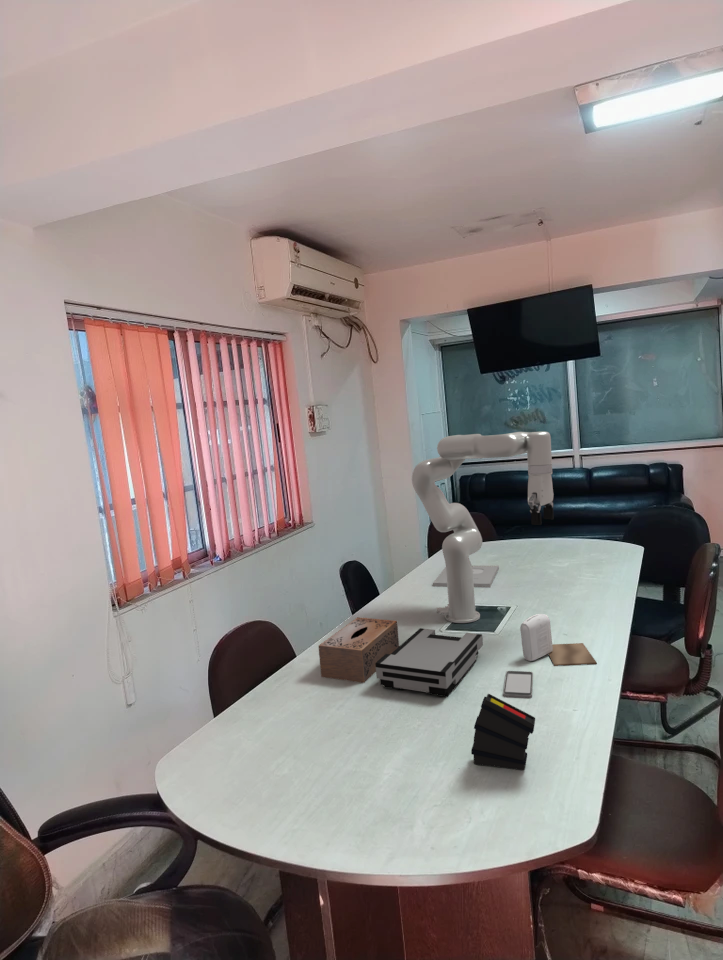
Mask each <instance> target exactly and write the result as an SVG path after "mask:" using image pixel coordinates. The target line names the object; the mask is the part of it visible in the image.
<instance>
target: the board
mask: <svg viewBox="0 0 723 960" xmlns="http://www.w3.org/2000/svg"><path fill="white" fill-rule="evenodd" d="M552 645H553V651H552V652H550V653H548V654H549V655H548V654H547V655H548V657H549V656H550V657H549V659H550V658H551V659H550V661H551V660H552V661H551V663H552V662H553V663H552V664H554V665H553V666H554V667H555V666H556V667H558V665H563V666H582V665H581V664H587V665H597V664H598V663H597V661H596V659H595V658H594V657H593V655H592V654H591V652H590V650H588V647H586V645H585V644H584V643H583V642H577V643H575V642H574V643H556V644H554V643H552Z"/></svg>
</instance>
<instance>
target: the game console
mask: <svg viewBox="0 0 723 960" xmlns="http://www.w3.org/2000/svg"><path fill="white" fill-rule="evenodd" d="M483 641H484V639H483V634H482V633H471V632H466V633H464V635H463V636H462V637H459V636H451V635H443V634H442V635H440V634H436V629H434V628H431V629H430V628H424V627H423V628H422V627H420V628H418V629H417V631H415V632H414V633H413V634H411V636H409V637H408V638H407V639H406V640H405V641H404V642H402V643H401V644H399V647H398V648H397V649H396V650H395V651H394V652H392V653H391V654H385V655H384V656H383V657H382V658H381V659H379V660H378V661H377V662H376V663H375V665H376V672H375V674H376V675H375V677H376V679H377V680H379V682H380V685H381V686H383V687H384V688H389V689H395V690H402V691H404V690H412V691H416V692H421V693H426V695H433V696H434V695H435V696H440V697H447V698H449V697H450V695H451V694H452V692H453V691H454V690H455V688H456V687H458V685H459V683H460V682H461V681H462V680H463V679H464V677H465V676H466V675H467V673H468V672H469V671H470V670H471V668H472V667H473V666H474V665H475V663H476V662H477V656H478V654H479V650H480V649H482V647H483V646H484V642H483Z"/></svg>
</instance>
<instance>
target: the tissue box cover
mask: <svg viewBox="0 0 723 960" xmlns="http://www.w3.org/2000/svg"><path fill="white" fill-rule="evenodd" d="M398 626H399V625H398V621H397V620H394V619H393V620H392V619H380V618H369V617H359V616H358V617H356V618H354V619H353V620H352V621H350V622H349V623H348V624H346V625H345V626H344V627H341V628H340V629H339V630H338V631H337V632H335V633H334V634H332V635H331V636H330V637H328V638H327V639H325V640H324V641H323V642H321V643H320V644H319V645H318V655H319V667H320V675H321V676H320V677H321V678H326V679H327V678H328V679H335V680H342V681H348V682H355V683H362V684H365V683H366V682H367V681H368V680H369V679H370V678H371V677H372V676H373V675H374V674H376V665H375V663H376V662H377V661H378V660H379V659H381V658H382V657H383V656H384V655H385V654H391V653H392V652H394V651H395V650H396V649H397V648H398V647H399V646H400V640H399V639H400V638H399V630H398V629H399V628H398Z"/></svg>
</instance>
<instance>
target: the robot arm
mask: <svg viewBox="0 0 723 960" xmlns="http://www.w3.org/2000/svg"><path fill="white" fill-rule="evenodd" d="M436 449H437V454H438V456H439V457H434V458H428V459H425V460H422V461H420V462H419V463H418V464H417V465H415V466H414V468H413V469H412V470H413V471H412V474H411V483H412V487H413V489H414V491H415V493H416V495H417V496H418V498H419V500H420V501H421V503H422V505H423V507H424V509H425V511H426V513H427V515H428V516H429V519H430V521H431V522H432V523H431V524H432V525H433V527H434V528H435V529H436V531H438V532H440V533H447V532H450V531H453V533H451V534H449V535H448V536H446V537H445V538H444V540H443V542H442V544H441V545H442V546H441V549H442V554H443V558H444V563H445V567H446V574H447V587H446V588H447V598H448V602H447V603H448V604H447V606H444V607H436V613H437V614H440V615H444V617H445V619H446V621H448V622H450V623H455V624H467V623H472V622H473V623H474V622H477V621H478V620H480V619H481V614H480V612H479V611H477V610H476V602H475V601H476V600H475V599H476V597H475V587H474V581H473V569H472V566H473V565H472V563H471V561H470V556H472V554H476V553H477V552H479V551H480V550H481V548H482V546H483V537H482V534H481V532H480V531H479V528H478V526H477V524H476V522H475V520H474V518H473V517H472V515H471V513H470V512H469V510H468V509H467V507H466V506H464V505H463V504H461V503H459V502H451V503H449V501H448V500H447V498H446V495H445V494H444V492H443V491H442V489H441V488H439V486H438V485H436V482H439V481H442V480H446V479H449V478H450V477H452V475H454V474H455V473H456V471H457V470H458V469H459V468H460V467H461V465H462V464H463V463H464V461H465V460H470V459H471V460H473V459H495V458H496V459H497V458H509V457H510V458H511V457H515V456H521V455H524V454H525V455H526V454H527V472H528V473H527V475H528V480H527V481H528V482H527V504H528V506H529V508H528V509H530V510H529V512H530V518H531V519H530V520H531V521H530V523H531V525H532V526H541V525H542V512H540V511H541V508H542V509H543V519H544V520H554V519H555V516H554V505H555V504H554V501H555V500H554V495H555V494H554V489H553V488H554V487H553V479H552V475H553V461H552V460H553V458H552V457H553V456H552V437H551V434H550V432H548V431H532V432H529V431H528V432H527V431H516V432H510V433H504V434H492V435H483V434H481V433H472V434H456V435H449V436H448V435H447V436H445V437H443V438H441V439H440V440H439V442H438V443H437V447H436ZM542 506H543V507H542Z"/></svg>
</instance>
